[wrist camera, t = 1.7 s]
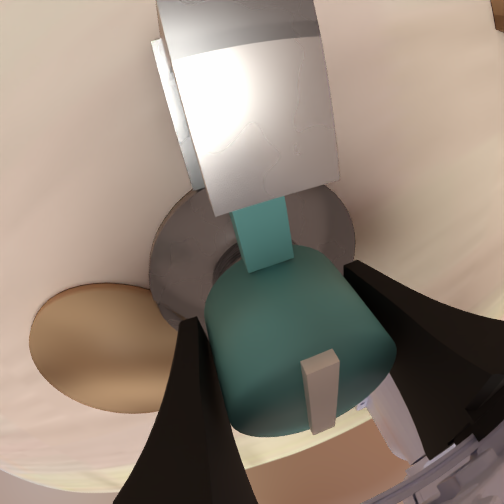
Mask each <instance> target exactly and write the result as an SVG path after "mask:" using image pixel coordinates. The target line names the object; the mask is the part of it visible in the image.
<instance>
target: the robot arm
mask: <svg viewBox="0 0 504 504" xmlns="http://www.w3.org/2000/svg"><path fill="white" fill-rule="evenodd" d="M343 277H344V278H345V279H346V280H347V282H348V283H349V284H350V285H351V287H352V288H353V289H354V290H355V292H356V293H357V294H358V295H359V297H360V298H361V299H362V300H363V302H364V303H365V304H366V306H367V307H368V308H369V309H370V311H371V312H372V313H373V314H374V316H375V317H376V318H377V320H378V321H379V322H380V324H381V325H382V326H383V327H384V329H385V330H386V331H387V333H388V334H389V335H390V337H391V338H392V339H393V341H394V342H395V344H396V348H397V354H396V359H395V362H394V364H393V367H392V368H391V370H390V372H389V373H388V375H387V376H386V378H385V379H384V380H383V382H382V383H381V384H380V385H379V386H378V387H377V388H376V389H375V390H374V391H373V392H372V393H371V394H370V395H369V396H368V397H367V398H365V399H364V400H363V401H362V402H360V403H359V404H358V405H356V406H355V408H356V410H361V409H363V408H365V407H366V408H367V410H368V411H369V413H370V415H371V417H372V418H373V420H374V422H375V424H376V425H377V427H378V429H379V431H380V432H381V434H382V436H383V438H384V440H385V441H386V443H387V445H388V447H389V448H390V450H391V451H392V453H393V454H395V455H396V456H397V457H399V458H401V459H403V460H407V461H408V462H409V464H410V465H413V464H414V465H413V466H412V467H410V468H408V469H407V470H406V473H407V476H406V477H405V478H404V481H403V482H401V483H400V484H398V485H396V486H394V487H392V488H390V489H389V490H387V491H385V492H383V493H381V494H379V495H377V496H375V497H373V498H371V499H369V500H367V501H365V502H363V503H360V504H397V503H399V502H401V501H402V500H403V502H404V504H504V321H502V320H497V319H492V318H487V317H483V316H479V315H476V314H472V313H469V312H466V311H462V310H459V309H456V308H454V307H451V306H448V305H446V304H443V303H441V302H438V301H436V300H433V299H431V298H429V297H427V296H425V295H423V294H420V293H418V292H416V291H414V290H412V289H410V288H408V287H406V286H404V285H402V284H401V283H399V282H397V281H395V280H393V279H391V278H390V277H388V276H386V275H384V274H382V273H381V272H379V271H377V270H375V269H373V268H372V267H370V266H368V265H366V264H364V263H362V262H361V261H359V260H356V261H353V262H350V263H348V264H345V265H343ZM415 463H416V464H415ZM113 504H258V502H257V500H256V497H255V495H254V493H253V490H252V488H251V485H250V482H249V480H248V477H247V474H246V472H245V469H244V466H243V463H242V461H241V458H240V455H239V452H238V449H237V446H236V443H235V440H234V437H233V433H232V429H231V425H230V422H229V418H228V414H227V411H226V407H225V403H224V399H223V395H222V392H221V388H220V384H219V380H218V376H217V372H216V367H215V363H214V359H213V355H212V351H211V346H210V342H209V340H208V338H207V336H206V334H205V332H204V330H203V328H202V326H201V324H200V322H199V319H198V317H197V316H195V317H192V318H189V319H186V320H183V321H180V323H179V327H178V334H177V341H176V346H175V352H174V357H173V361H172V365H171V370H170V374H169V378H168V382H167V385H166V389H165V393H164V396H163V400H162V403H161V406H160V409H159V412H158V415H157V417H156V420H155V423H154V426H153V428H152V430H151V433H150V435H149V438H148V440H147V442H146V445H145V447H144V449H143V451H142V453H141V455H140V457H139V459H138V461H137V463H136V465H135V466H134V468H133V470H132V472H131V474H130V476H129V478H128V479H127V481H126V482H125V484H124V486H123V487H122V489H121V490H120V492H119V493H118V495H117V497H116V498H115V500H114V501H113Z"/></svg>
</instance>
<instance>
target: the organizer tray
mask: <svg viewBox="0 0 504 504" xmlns="http://www.w3.org/2000/svg"><path fill="white" fill-rule="evenodd" d="M491 4H492V8H493V14H494V19H495V26H496V30H499V31H501V32H504V0H491Z"/></svg>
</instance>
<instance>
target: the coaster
mask: <svg viewBox="0 0 504 504" xmlns="http://www.w3.org/2000/svg"><path fill="white" fill-rule="evenodd" d="M164 305H165V304H164ZM158 308H159V307H158V304H156V302H155V301H154V300H153V297H152V293H151V290H148V289H144V288H141V287H136V286H130V285H125V284H112V283H102V284H89V285H83V286H78V287H75V288H71V289H68V290H66V291H63V292H61V293H59V294H57V295H56V296H54V297H53V298H51V299H50V300H48V301H47V302H46V303H45V304H44V305H43V306H42V307H41V309H40V310H39V312H38V313H37V315H36V317H35V319H34V322H33V325H32V328H31V331H30V336H29V348H30V353H31V356H32V359H33V361H34V363H35V365H36V367H37V369H38V370H39V372H40V373H41V374H42V375H43V377H44V378H45V379H46V380H47V381H48V382H49V383H50V384H51V385H52V386H53V387H55V388H56V389H57V390H58V391H60V392H61V393H63V394H64V395H66V396H68V397H70V398H71V399H73V400H75V401H77V402H80V403H82V404H84V405H87V406H90V407H93V408H96V409H100V410H104V411H110V412H116V413H129V414H137V413H150V412H156V411H159V409H160V406H161V403H162V400H163V396H164V393H165V389H166V385H167V382H168V378H169V374H170V370H171V365H172V361H173V357H174V352H175V346H176V341H177V334H178V331H176V330H175V329H174V328H173V327H171V325H170V324H169V323H168V322H167V321H166V320H165V319H164V318H163V316H162V315H161V312H160V308H159V309H158ZM166 309H167V308H166ZM172 311H173V310H172ZM173 312H174V311H173ZM174 315H175V314H174ZM178 315H179V314H178V313H177V316H178ZM179 318H181V320H182V321H183V318H184V317H183V318H182V317H181V316H179ZM184 319H185V320H186V318H184ZM206 336H207V335H206Z"/></svg>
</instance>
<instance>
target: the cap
mask: <svg viewBox="0 0 504 504" xmlns="http://www.w3.org/2000/svg"><path fill="white" fill-rule="evenodd" d="M229 213H230V217H231V221H232V224H233V228H234V232H235V235H236V239H237V243H238V246H239V250H240V254H241V257H242V259H241V260H240V261H238V262H236V263H235V264H234V265H232V266H231V267H230V268H229V269H227V270H226V271H225V272H224V273H223V274H222V275H221V276H220V277H219V279H218V280H217V281H216V283H215V284H214V285H213V287H212V289H211V290H210V292H209V294H208V297H207V300H206V303H205V308H204V318H205V324H206V329H207V333H208V338H209V342H210V346H211V351H212V355H213V359H214V363H215V367H216V372H217V376H218V380H219V384H220V388H221V392H222V395H223V399H224V403H225V407H226V411H227V414H228V418H229V422H230V423H231V425H232V427H233V428H234V429H235V430H237V431H239V432H240V433H243V434H245V435H249V436H255V437H278V436H285V435H290V434H295V433H299V432H302V431H306V430H309V429H310V430H311V432H312V434H313V435H315V434H318V433H320V432H323V431H325V430H327V429H330V428H332V427H334V426H335V420H336V418H337V417H339V416H340V415H342V414H344V413H346V412H347V411H349V410H350V409H352V408H353V407H355V406H356V405H358V404H359V403H360V402H362V401H363V400H364V399H365V398H367V397H368V396H369V395H370V394H371V393H372V392H373V391H374V390H375V389H376V388H377V387H378V386H379V385H380V384H381V383H382V382H383V380H384V379H385V378H386V376H387V375H388V373H389V372H390V370H391V368H392V367H393V364H394V362H395V359H396V354H397V348H396V344H395V342H394V341H393V339H392V338H391V337H390V335H389V334H388V333H387V331H386V330H385V329H384V327H383V326H382V325H381V324H380V322H379V321H378V320H377V318H376V317H375V316H374V314H373V313H372V312H371V311H370V309H369V308H368V307H367V306H366V304H365V303H364V302H363V300H362V299H361V298H360V297H359V295H358V294H357V293H356V292H355V290H354V289H353V288H352V287H351V285H350V284H349V283H348V282H347V280H346V279H345V278H344V277H343V275H342V274H341V273H340V272H339V271H338V269H337V268H336V267H335V266H334V264H333V263H332V262H331V261H330V260H329V259H328V258H327V257H326V256H325V255H324V254H322V253H321V252H319V251H317V250H315V249H313V248H310V247H306V246H301V245H292V241H291V234H290V228H289V221H288V215H287V209H286V203H285V196H282V197H278V198H275V199H272V200H268V201H265V202H262V203H258V204H255V205H252V206H248V207H245V208H242V209H239V210H236V211H232V212H229Z"/></svg>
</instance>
